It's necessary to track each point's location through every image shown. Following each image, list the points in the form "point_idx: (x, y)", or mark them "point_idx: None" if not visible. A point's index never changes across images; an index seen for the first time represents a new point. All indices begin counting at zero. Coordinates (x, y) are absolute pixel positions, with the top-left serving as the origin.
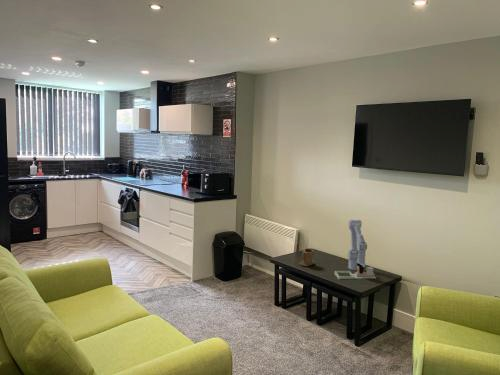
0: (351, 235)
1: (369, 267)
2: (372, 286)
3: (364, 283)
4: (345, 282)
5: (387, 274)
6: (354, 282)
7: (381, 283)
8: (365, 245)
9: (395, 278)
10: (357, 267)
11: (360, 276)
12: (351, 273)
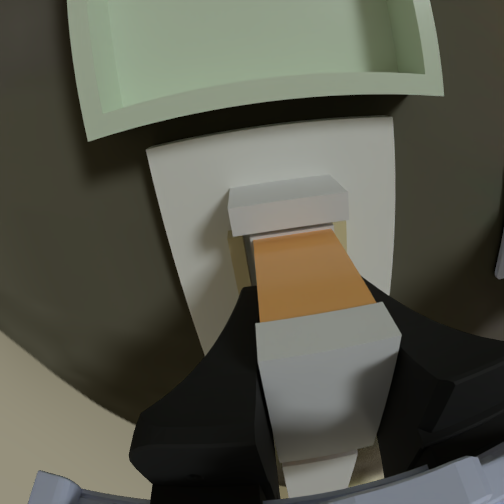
0: None
1: (340, 478)
2: (9, 331)
3: (40, 269)
4: (10, 6)
5: (362, 460)
6: (24, 130)
7: (127, 419)
8: None
9: (279, 485)
10: (364, 312)
11: (233, 263)
12: (297, 88)
